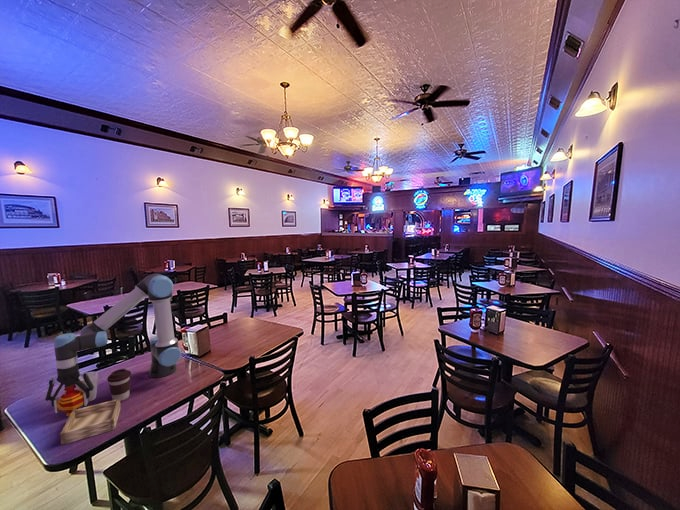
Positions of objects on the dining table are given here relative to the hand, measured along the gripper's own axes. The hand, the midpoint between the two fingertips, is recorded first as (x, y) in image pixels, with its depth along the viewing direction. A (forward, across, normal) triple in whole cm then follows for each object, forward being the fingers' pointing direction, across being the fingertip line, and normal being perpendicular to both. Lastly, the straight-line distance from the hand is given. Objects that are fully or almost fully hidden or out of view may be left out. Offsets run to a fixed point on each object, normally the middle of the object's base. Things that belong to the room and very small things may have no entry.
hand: (72, 407), depth 140 cm
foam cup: (+3, -4, -11) cm, 12 cm away
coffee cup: (+3, -19, -3) cm, 19 cm away
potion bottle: (+3, 0, 0) cm, 3 cm away
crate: (+3, -11, +16) cm, 20 cm away
